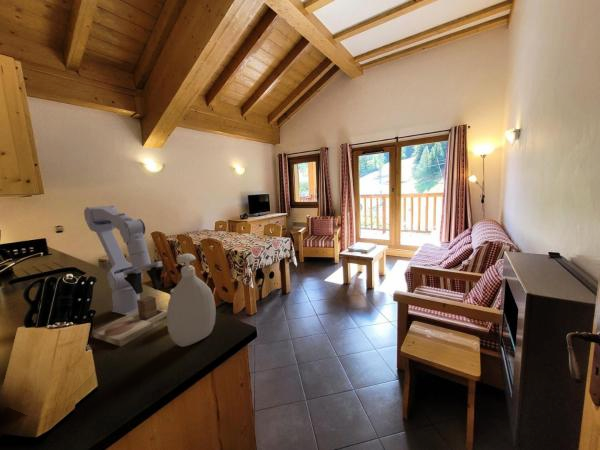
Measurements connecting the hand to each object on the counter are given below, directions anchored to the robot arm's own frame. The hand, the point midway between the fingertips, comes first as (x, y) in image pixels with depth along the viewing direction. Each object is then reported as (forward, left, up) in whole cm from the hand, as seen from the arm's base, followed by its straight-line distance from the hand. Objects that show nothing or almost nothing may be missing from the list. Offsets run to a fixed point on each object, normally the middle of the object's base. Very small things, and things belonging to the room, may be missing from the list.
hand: (148, 291), depth 89 cm
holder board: (-2, -5, -11) cm, 12 cm away
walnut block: (-2, 0, -11) cm, 11 cm away
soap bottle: (+23, -3, -11) cm, 26 cm away
